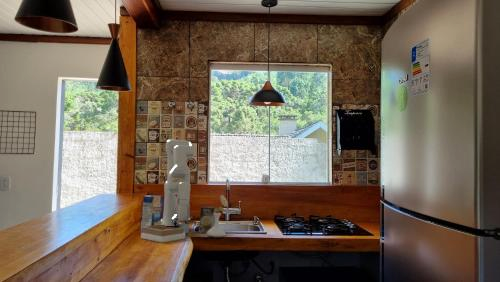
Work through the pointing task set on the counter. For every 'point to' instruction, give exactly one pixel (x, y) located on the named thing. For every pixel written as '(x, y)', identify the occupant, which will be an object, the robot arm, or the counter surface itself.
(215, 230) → the flower in vase
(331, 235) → the counter surface
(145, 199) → the beverage box
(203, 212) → the coffee box
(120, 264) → the counter surface
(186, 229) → the tall pale blue box
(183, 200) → the robot arm
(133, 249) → the counter surface
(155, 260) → the counter surface
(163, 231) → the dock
